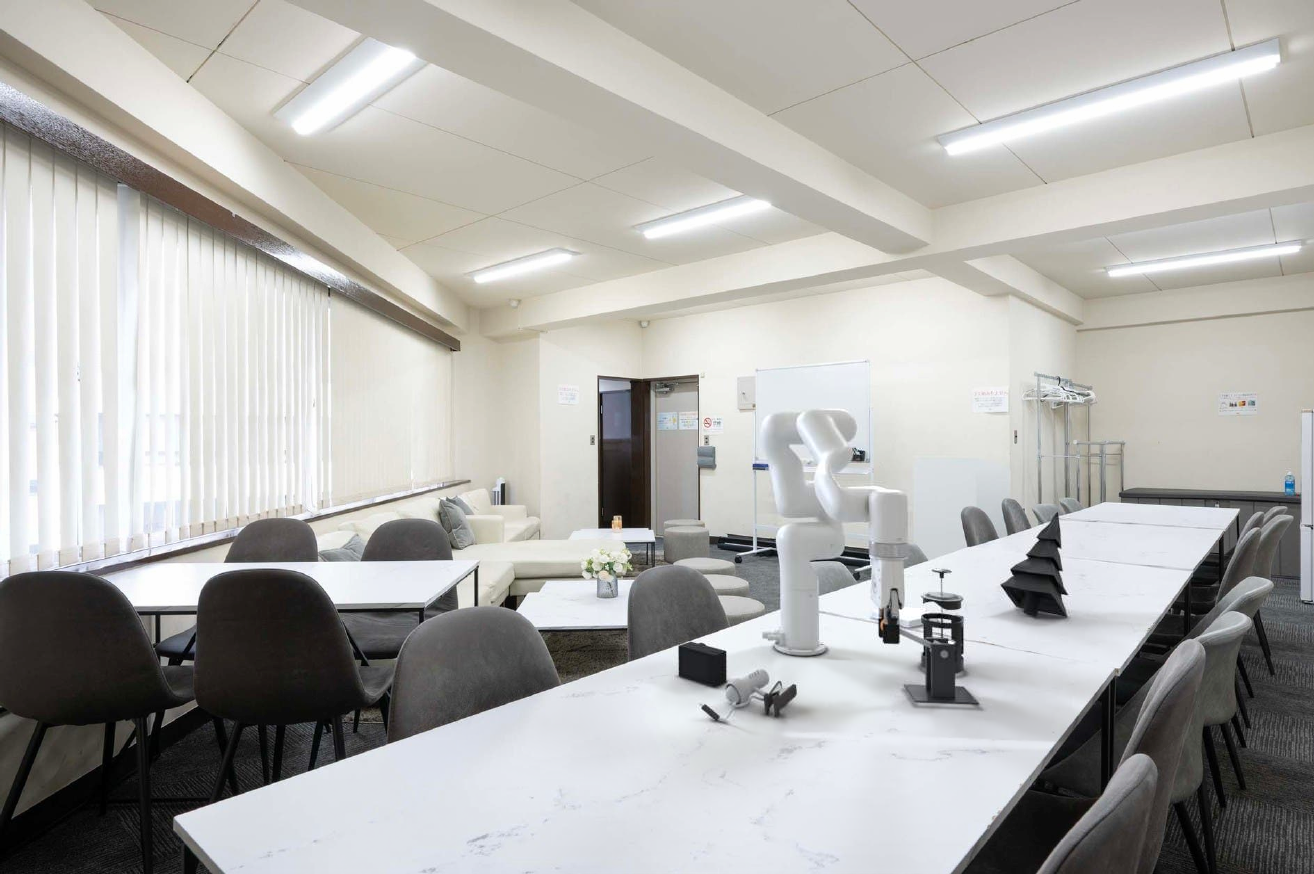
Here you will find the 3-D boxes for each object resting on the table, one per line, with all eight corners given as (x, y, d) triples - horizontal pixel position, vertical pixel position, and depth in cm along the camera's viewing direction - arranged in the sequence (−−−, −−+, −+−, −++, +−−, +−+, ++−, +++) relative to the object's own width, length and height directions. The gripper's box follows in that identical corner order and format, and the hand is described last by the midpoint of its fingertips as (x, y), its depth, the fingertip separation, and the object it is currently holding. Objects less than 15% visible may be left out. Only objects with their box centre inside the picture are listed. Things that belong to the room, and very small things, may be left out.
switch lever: (879, 631, 138) (886, 617, 138) (876, 627, 141) (883, 613, 141) (945, 662, 136) (952, 648, 136) (940, 657, 140) (947, 643, 139)
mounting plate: (905, 610, 209) (905, 604, 209) (943, 619, 198) (943, 613, 198) (865, 619, 199) (865, 612, 199) (903, 629, 188) (903, 622, 188)
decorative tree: (1065, 629, 199) (1091, 526, 211) (1047, 606, 191) (1076, 501, 204) (1013, 619, 210) (1040, 522, 223) (994, 597, 203) (1024, 497, 215)
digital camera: (730, 681, 149) (730, 649, 149) (715, 687, 145) (715, 655, 145) (694, 670, 156) (694, 639, 156) (678, 676, 152) (678, 645, 152)
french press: (943, 681, 148) (943, 575, 148) (909, 668, 156) (908, 568, 157) (978, 671, 154) (978, 570, 154) (943, 660, 162) (942, 563, 162)
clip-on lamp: (735, 747, 123) (802, 703, 133) (731, 716, 122) (799, 674, 132) (693, 720, 133) (759, 680, 143) (690, 690, 131) (756, 653, 141)
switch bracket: (915, 706, 134) (915, 646, 134) (903, 689, 143) (903, 633, 143) (979, 709, 133) (978, 648, 133) (963, 692, 142) (963, 635, 142)
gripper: (861, 544, 148) (862, 629, 148) (877, 557, 131) (878, 652, 131) (897, 544, 147) (898, 629, 147) (918, 557, 131) (918, 653, 130)
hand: (888, 639), depth 139 cm, fingers closed on switch lever, 3 cm apart
